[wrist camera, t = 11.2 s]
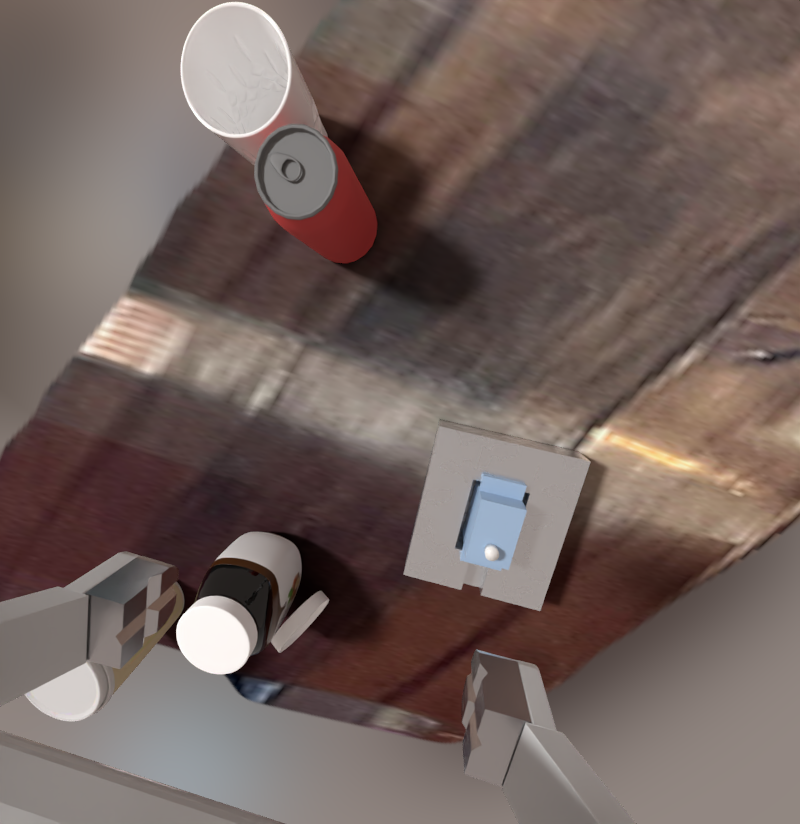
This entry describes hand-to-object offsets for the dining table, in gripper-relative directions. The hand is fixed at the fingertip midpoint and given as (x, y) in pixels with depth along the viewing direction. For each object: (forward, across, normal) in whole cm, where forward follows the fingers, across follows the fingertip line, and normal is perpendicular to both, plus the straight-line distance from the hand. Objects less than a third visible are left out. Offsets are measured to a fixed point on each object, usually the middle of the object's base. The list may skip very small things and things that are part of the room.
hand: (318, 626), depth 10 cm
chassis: (+29, -10, +8) cm, 31 cm away
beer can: (+29, +10, -16) cm, 35 cm away
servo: (+28, -10, +8) cm, 31 cm away
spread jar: (+29, +10, +22) cm, 38 cm away
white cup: (+29, +16, -22) cm, 40 cm away
